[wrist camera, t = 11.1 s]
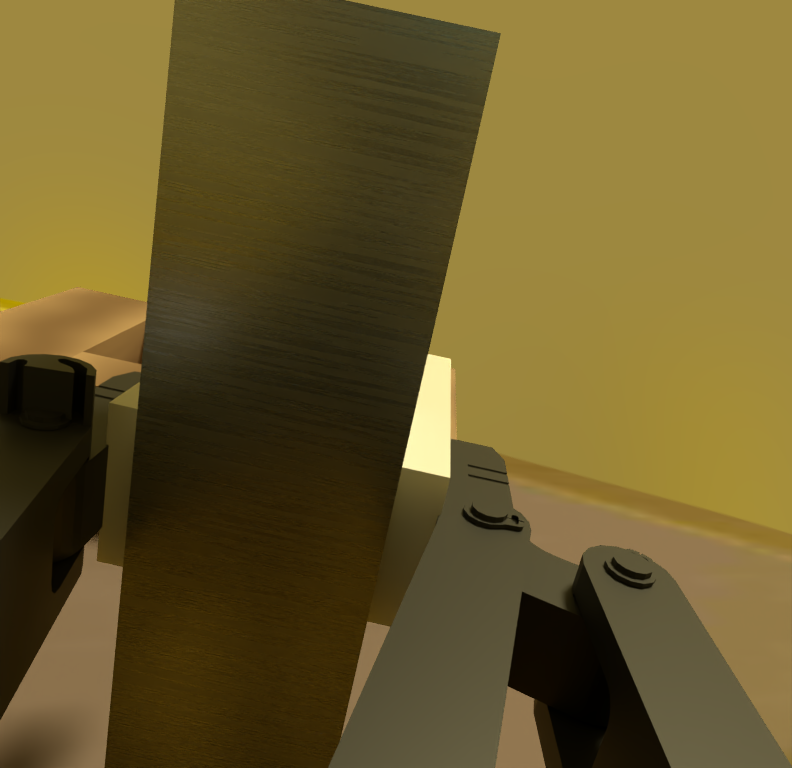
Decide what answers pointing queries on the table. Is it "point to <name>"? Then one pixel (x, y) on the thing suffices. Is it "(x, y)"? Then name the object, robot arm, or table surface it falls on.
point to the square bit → (282, 364)
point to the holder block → (92, 333)
